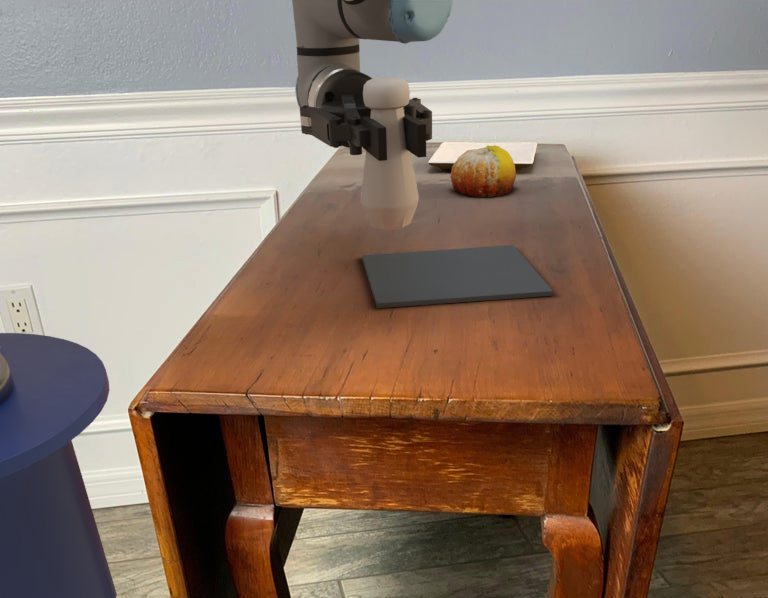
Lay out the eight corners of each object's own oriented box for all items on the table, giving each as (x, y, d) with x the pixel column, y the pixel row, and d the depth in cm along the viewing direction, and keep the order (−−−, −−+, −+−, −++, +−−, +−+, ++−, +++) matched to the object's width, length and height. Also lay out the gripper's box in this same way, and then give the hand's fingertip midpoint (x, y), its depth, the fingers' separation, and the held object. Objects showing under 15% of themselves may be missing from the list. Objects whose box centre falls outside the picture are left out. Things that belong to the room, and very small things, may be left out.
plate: (441, 153, 158) (442, 141, 157) (536, 153, 155) (537, 141, 153) (427, 173, 143) (427, 161, 142) (532, 174, 140) (532, 162, 138)
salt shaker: (423, 229, 78) (422, 79, 70) (365, 233, 77) (359, 83, 70) (412, 214, 83) (410, 72, 75) (358, 218, 82) (350, 76, 75)
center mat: (376, 308, 88) (376, 303, 87) (362, 259, 103) (362, 254, 102) (552, 296, 89) (553, 290, 89) (513, 249, 104) (513, 244, 104)
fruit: (453, 179, 137) (468, 130, 132) (510, 199, 136) (527, 151, 131) (440, 192, 128) (455, 141, 123) (500, 214, 127) (518, 164, 122)
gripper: (415, 137, 93) (485, 179, 74) (280, 148, 90) (317, 195, 71) (415, 64, 89) (489, 89, 70) (273, 73, 86) (310, 102, 67)
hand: (402, 142), depth 71 cm, fingers closed on salt shaker, 3 cm apart
